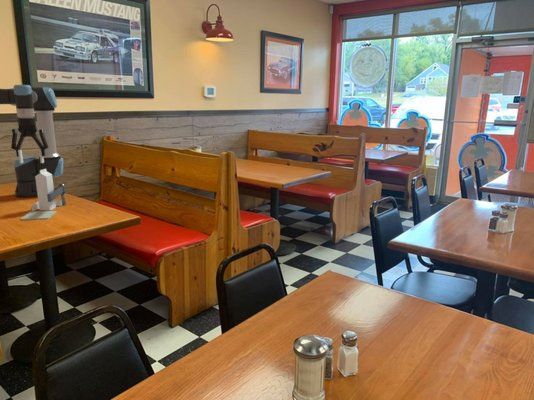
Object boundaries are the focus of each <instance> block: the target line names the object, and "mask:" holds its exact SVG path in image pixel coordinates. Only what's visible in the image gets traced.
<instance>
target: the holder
mask: <svg viewBox="0 0 534 400" xmlns="http://www.w3.org/2000/svg"><path fill="white" fill-rule="evenodd" d="M60 198H61V199H60V200H55V203H56V207H63V206H66V205H67V201H66V192H65V193H62V194H61V195H60ZM30 207H31V212H32V211H37V210H39V202H38V201H37V202H35V203H34V204H32V205H31V206H30Z"/></svg>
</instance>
